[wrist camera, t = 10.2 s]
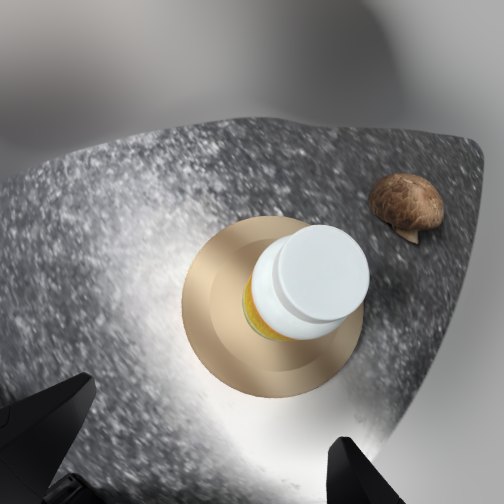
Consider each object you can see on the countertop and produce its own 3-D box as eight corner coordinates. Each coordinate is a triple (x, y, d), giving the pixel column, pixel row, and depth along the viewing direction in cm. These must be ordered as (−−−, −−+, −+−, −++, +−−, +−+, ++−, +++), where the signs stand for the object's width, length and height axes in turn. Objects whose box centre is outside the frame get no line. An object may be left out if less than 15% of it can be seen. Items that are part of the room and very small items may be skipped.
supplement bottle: (265, 255, 21) (301, 186, 12) (325, 293, 20) (398, 251, 11) (225, 316, 19) (233, 289, 10) (290, 355, 18) (352, 361, 9)
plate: (279, 430, 17) (282, 434, 16) (145, 302, 20) (142, 300, 18) (385, 300, 22) (391, 298, 21) (270, 191, 24) (273, 185, 23)
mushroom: (445, 265, 20) (463, 203, 17) (365, 256, 23) (373, 190, 19) (428, 221, 26) (437, 170, 23) (363, 213, 29) (367, 160, 25)
